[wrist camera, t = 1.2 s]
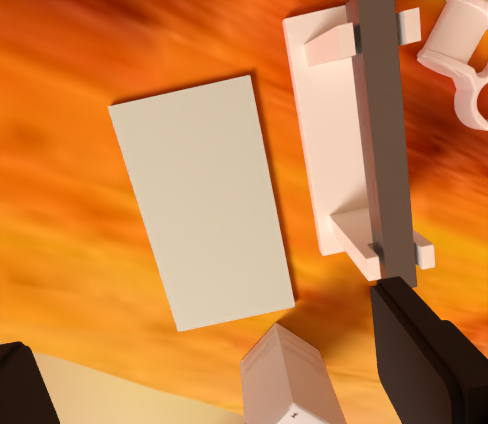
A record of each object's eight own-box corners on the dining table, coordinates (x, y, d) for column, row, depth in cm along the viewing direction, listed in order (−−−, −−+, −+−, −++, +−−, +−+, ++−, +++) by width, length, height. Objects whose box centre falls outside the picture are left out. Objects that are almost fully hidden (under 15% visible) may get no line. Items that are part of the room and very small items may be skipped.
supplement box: (238, 361, 47) (243, 454, 35) (276, 320, 46) (295, 401, 34) (283, 389, 49) (302, 487, 37) (321, 350, 48) (354, 438, 35)
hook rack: (282, 21, 36) (311, -13, 24) (365, 2, 36) (436, -41, 24) (319, 250, 43) (356, 311, 31) (389, 235, 43) (452, 290, 31)
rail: (345, 3, 27) (356, -5, 24) (379, -4, 27) (393, -13, 24) (376, 279, 33) (388, 292, 31) (403, 273, 33) (417, 286, 31)
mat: (109, 106, 37) (107, 106, 37) (249, 75, 37) (249, 74, 36) (178, 327, 45) (178, 331, 45) (294, 303, 45) (295, 306, 44)
